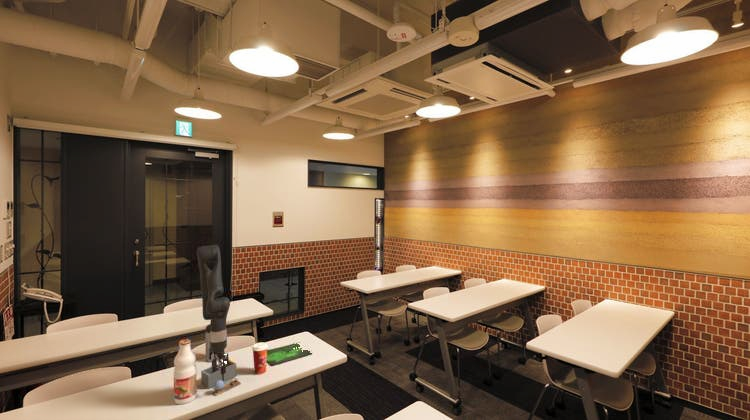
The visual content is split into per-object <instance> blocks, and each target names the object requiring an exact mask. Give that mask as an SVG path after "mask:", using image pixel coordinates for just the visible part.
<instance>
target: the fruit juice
mask: <svg viewBox="0 0 750 420" xmlns="http://www.w3.org/2000/svg"><path fill="white" fill-rule="evenodd" d="M191 341H192V340H191V339H190V338H185V339H181V340H179V342H178V346H179V349H178V352H177V354H176V355H175V357H174V358H173V359H174V360H173V365H174V370H173V401H174V403H175V404H176V405H185V404H188V403H190V402H192V401H194V400H195V399H196V398H197V394H198V393H197V392H198V389H197V382H198V381H197V366H196V360H197V356H196V353H195V352H194V351H193V350H192V348H191V344H192V342H191Z"/></svg>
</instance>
